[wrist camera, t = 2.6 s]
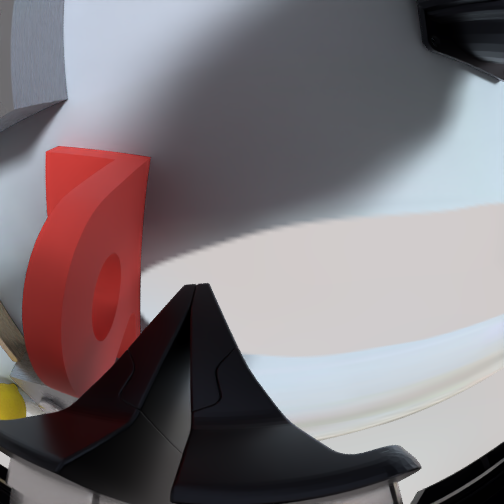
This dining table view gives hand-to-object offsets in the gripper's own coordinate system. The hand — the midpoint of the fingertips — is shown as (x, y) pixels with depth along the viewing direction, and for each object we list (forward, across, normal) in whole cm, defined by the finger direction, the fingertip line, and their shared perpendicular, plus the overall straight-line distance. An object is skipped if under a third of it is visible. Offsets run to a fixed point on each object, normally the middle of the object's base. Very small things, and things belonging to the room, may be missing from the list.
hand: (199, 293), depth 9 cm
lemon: (+4, +27, +16) cm, 32 cm away
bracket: (+4, +6, +1) cm, 7 cm away
